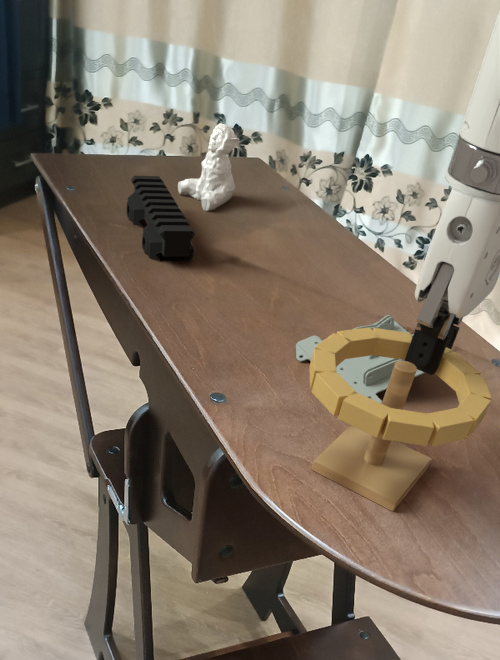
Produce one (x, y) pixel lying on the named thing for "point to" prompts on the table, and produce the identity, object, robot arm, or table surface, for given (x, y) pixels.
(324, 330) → the table surface
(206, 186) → the seated beast figurine
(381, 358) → the metal bracket
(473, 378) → the ring
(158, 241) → the rail mount
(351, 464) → the peg
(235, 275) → the table surface
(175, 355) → the table surface
